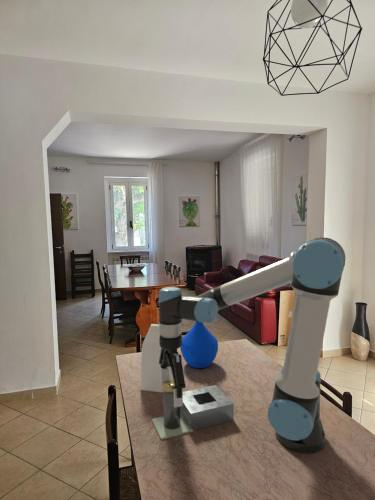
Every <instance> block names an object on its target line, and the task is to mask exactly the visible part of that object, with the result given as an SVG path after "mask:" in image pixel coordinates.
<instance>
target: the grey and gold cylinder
mask: <svg viewBox="0 0 375 500" xmlns="http://www.w3.org/2000/svg"><path fill="white" fill-rule="evenodd" d="M174 386H175V384H174V380H173V379H170V380H166V381H164V382H163V383H162V390H163V392H162V393H163V394H162V395H163V397H162V399H163V401H162V402H163V416H164V427H165V428H167V429H176V428H178V427H179V426H180V407H174V389H173V387H174Z"/></svg>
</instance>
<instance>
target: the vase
mask: <svg viewBox="0 0 375 500" xmlns="http://www.w3.org/2000/svg"><path fill="white" fill-rule="evenodd" d="M179 348H180V352H181V356H182V357H183V359H184V361H185V363H186V364H187V365H189V366H190V367H192V368H195V369H203V368H204V369H205V368H207V367H209V366H210V365H212V363H213V362H214V361H215V359H216V357H217V355H218V351H219V343H218V339H217V338H216V336H215V335H214V334H212V332H210V330H208V329H207V327H206V326H205V325H204V323H202V322H198V321H194V325H193V326H192V328H191V329H190V330H189V331H187V333H186V334H185V335H184V336H182V346H181V347H179Z"/></svg>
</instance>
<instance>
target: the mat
mask: <svg viewBox="0 0 375 500" xmlns="http://www.w3.org/2000/svg"><path fill="white" fill-rule="evenodd" d="M151 421H152V424H153V426H154V428H155V430H156V433H157V434H158V436H159V439H160V440H161V441H162V440H166V439H169V438H174V437H177V436H181V435H186V434H188V433H189V434H190V433H193V432H194V430H193V429H191V428H190V427H189V425H188V424H187V422H186V421H185V419H184V417H183V416H182V414H181V413H180V426H179V427H178V428H176V429H167V428H165V427H164V415H163V416H162V415H161V416H159V417H155V418H152V419H151Z"/></svg>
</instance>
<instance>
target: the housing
mask: <svg viewBox="0 0 375 500" xmlns="http://www.w3.org/2000/svg"><path fill="white" fill-rule="evenodd" d="M234 408H235V407H234V402H233V401H232V400H231V399H230V398H229V397H228V396H227V394H225V393H224V392H223V391H222V390H221V389H220V388H219V387H218V386H217V385H216V384H215V385H210V386H205V387H199V388H195V389H190V390H187V391H186V390H185V391H183V406H180V413H181V414H182V416H183V417H184V419H185V421H186V422H187V424H188V425H189V427H190V428H191V429H193V431H196V430H200V429H204V428H208V427H211V426H212V427H213V426H215V425H220V424H223V423H226V422H231V421H233V420H235V419H234V418H235V417H234V416H235V415H234V412H235V411H234V410H235V409H234Z"/></svg>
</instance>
